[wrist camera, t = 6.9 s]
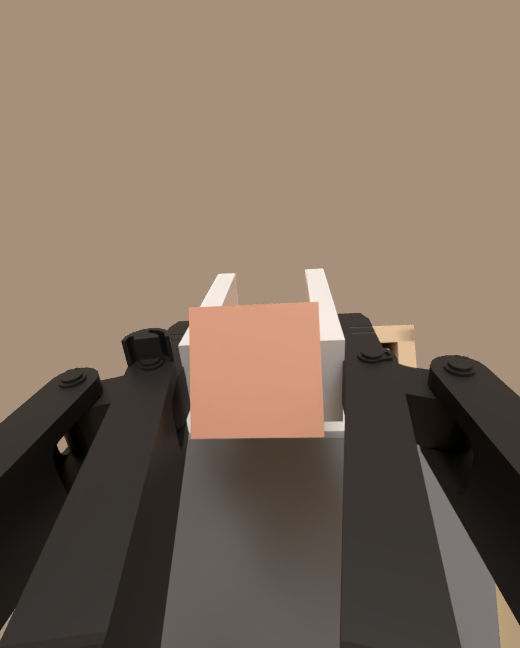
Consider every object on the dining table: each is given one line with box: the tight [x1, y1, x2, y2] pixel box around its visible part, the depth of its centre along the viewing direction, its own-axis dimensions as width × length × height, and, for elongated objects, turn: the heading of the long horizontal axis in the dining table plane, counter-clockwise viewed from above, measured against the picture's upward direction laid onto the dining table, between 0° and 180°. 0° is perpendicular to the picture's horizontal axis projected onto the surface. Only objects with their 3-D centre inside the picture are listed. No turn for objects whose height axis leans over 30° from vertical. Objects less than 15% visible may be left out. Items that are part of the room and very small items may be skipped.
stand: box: [161, 349, 500, 648], centre depth 27 cm, size 22×18×32 cm
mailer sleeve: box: [189, 302, 417, 439], centre depth 23 cm, size 30×13×5 cm, turn 175°
